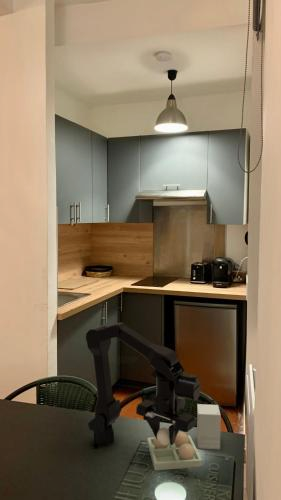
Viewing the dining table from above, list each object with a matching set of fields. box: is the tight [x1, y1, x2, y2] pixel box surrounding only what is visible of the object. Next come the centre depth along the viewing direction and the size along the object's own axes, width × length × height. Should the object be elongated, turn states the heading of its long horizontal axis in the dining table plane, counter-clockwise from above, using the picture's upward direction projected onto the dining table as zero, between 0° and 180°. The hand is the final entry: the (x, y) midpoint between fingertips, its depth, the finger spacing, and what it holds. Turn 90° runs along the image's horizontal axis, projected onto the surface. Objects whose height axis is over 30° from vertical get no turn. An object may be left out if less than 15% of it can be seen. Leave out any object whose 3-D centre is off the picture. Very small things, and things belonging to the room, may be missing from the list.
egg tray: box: [147, 434, 203, 471], centre depth 127 cm, size 14×14×3 cm
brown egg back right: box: [174, 431, 189, 448], centre depth 130 cm, size 5×5×5 cm
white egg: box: [157, 426, 170, 445], centre depth 122 cm, size 5×5×5 cm
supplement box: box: [196, 403, 222, 450], centre depth 134 cm, size 7×7×13 cm
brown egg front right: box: [179, 443, 195, 460], centre depth 124 cm, size 5×5×5 cm
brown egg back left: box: [153, 436, 168, 449], centre depth 130 cm, size 5×5×5 cm
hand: (164, 441), depth 123 cm, fingers closed on white egg, 5 cm apart
